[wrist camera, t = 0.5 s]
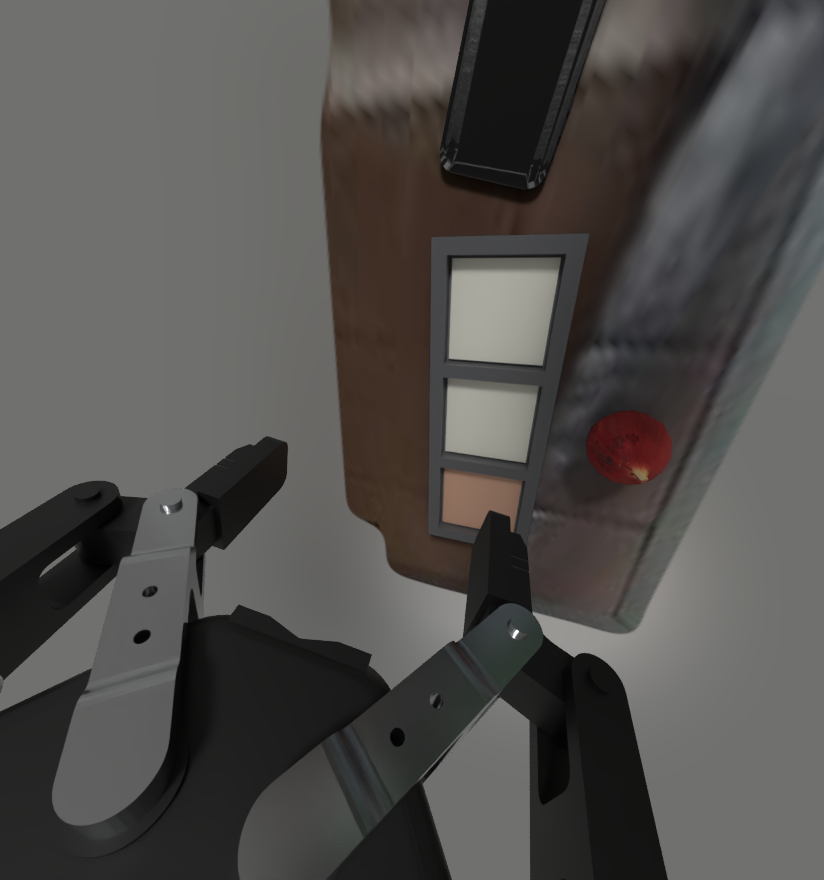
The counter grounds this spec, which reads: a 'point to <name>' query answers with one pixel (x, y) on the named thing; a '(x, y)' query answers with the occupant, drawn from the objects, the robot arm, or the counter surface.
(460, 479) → the terracotta key
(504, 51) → the phone
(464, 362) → the keypad
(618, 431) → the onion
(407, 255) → the counter surface
